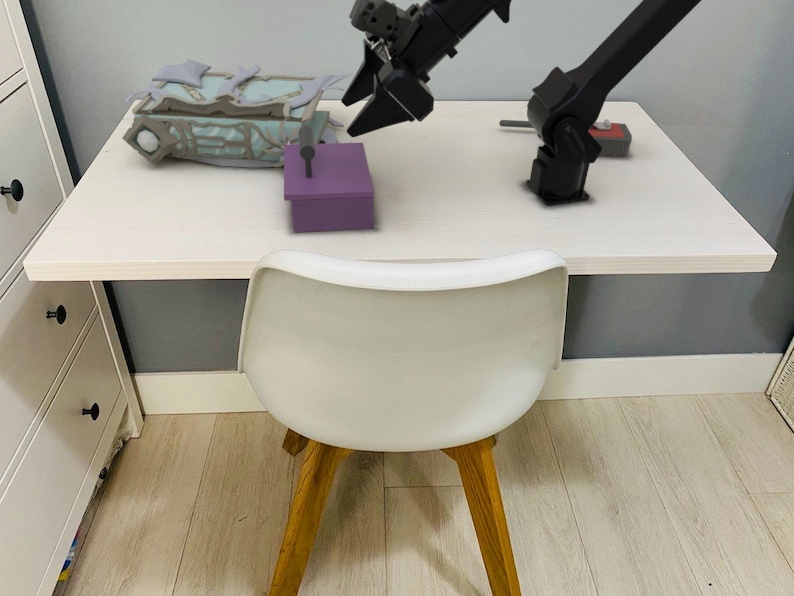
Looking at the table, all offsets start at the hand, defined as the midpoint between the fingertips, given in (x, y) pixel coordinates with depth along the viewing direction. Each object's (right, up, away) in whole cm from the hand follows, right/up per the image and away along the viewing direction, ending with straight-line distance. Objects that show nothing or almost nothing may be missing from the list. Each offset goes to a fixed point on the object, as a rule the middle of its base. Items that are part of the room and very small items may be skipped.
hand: (346, 118), depth 78 cm
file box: (-2, -9, +7) cm, 12 cm away
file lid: (-3, -6, +4) cm, 7 cm away
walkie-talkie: (+32, +2, +23) cm, 40 cm away
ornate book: (-17, +2, +21) cm, 27 cm away
